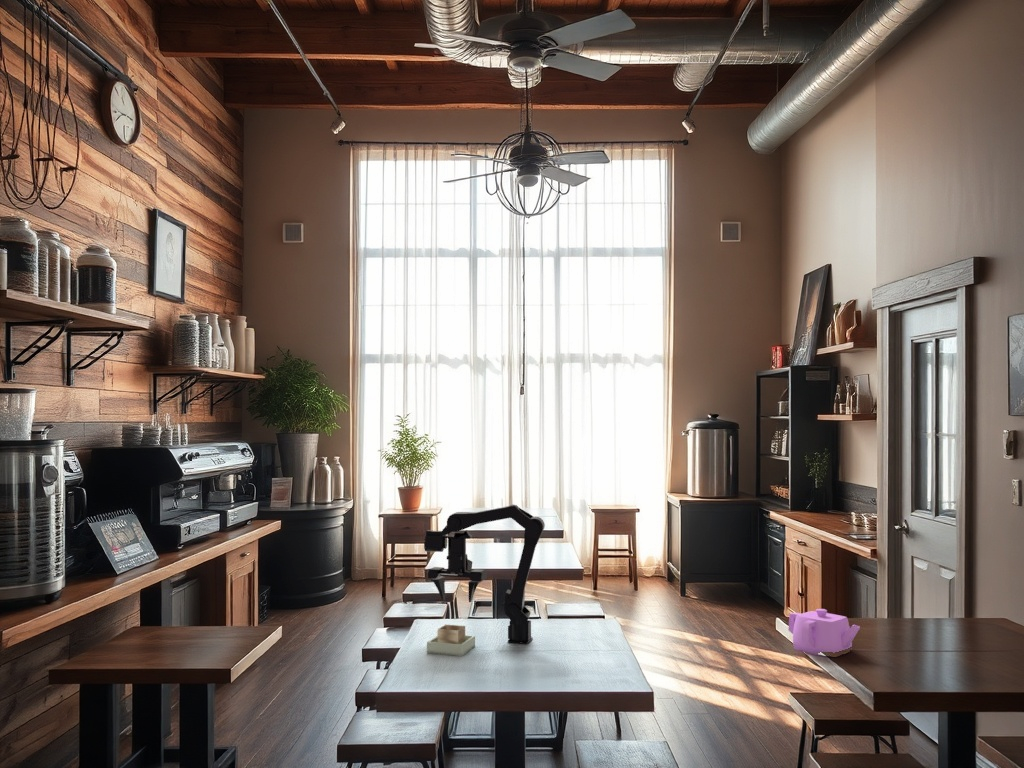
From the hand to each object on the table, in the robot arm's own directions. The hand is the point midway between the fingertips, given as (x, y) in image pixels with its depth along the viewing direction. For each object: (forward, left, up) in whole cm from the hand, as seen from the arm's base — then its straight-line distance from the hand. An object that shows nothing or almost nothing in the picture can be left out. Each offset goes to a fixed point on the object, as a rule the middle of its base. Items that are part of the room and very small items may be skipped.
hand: (456, 601), depth 261 cm
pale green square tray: (-3, +12, -12) cm, 17 cm away
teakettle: (-111, -21, -12) cm, 114 cm away
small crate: (-3, +12, -11) cm, 17 cm away
